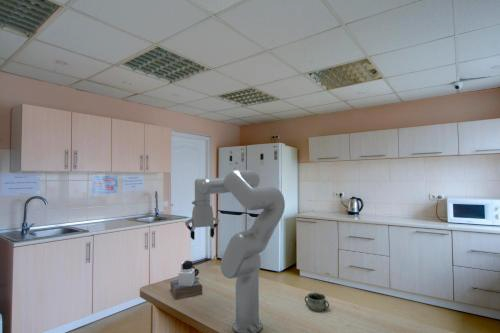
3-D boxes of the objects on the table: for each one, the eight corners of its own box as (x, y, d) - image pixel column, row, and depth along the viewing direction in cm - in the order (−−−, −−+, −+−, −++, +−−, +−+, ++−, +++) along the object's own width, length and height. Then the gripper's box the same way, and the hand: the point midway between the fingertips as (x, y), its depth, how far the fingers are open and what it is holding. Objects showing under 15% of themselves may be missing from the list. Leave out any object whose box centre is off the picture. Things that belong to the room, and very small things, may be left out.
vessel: (301, 310, 132) (300, 296, 133) (308, 302, 140) (307, 289, 140) (326, 316, 126) (326, 302, 126) (332, 308, 133) (332, 295, 133)
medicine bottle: (194, 281, 156) (194, 259, 156) (191, 286, 149) (191, 263, 149) (182, 281, 156) (182, 259, 156) (178, 286, 149) (178, 263, 149)
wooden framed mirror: (202, 294, 151) (202, 284, 151) (175, 299, 145) (175, 289, 145) (195, 285, 163) (195, 276, 163) (170, 289, 157) (170, 280, 157)
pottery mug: (177, 280, 170) (178, 266, 175) (185, 282, 178) (186, 269, 182) (195, 278, 168) (196, 263, 172) (203, 280, 175) (203, 266, 180)
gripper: (186, 205, 134) (187, 241, 133) (221, 203, 141) (221, 237, 141) (183, 203, 141) (183, 238, 140) (216, 201, 148) (216, 234, 148)
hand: (202, 237), depth 140 cm, fingers open, 9 cm apart
